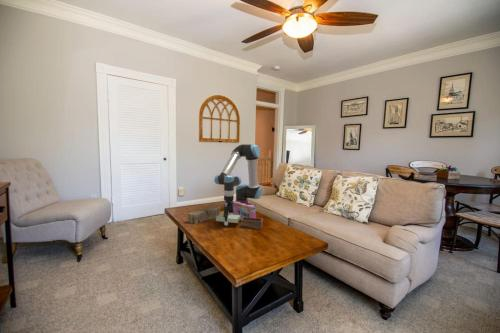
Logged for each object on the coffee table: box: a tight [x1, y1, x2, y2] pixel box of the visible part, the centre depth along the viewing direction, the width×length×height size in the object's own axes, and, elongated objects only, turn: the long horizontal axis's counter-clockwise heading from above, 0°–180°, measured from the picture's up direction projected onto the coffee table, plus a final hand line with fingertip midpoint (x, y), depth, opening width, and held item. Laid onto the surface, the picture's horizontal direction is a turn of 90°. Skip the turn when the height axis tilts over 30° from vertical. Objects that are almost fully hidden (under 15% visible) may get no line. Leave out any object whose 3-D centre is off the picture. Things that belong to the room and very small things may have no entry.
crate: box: [240, 217, 264, 230], centre depth 174 cm, size 7×16×6 cm, turn 77°
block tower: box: [187, 205, 221, 225], centre depth 191 cm, size 8×8×29 cm
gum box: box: [232, 200, 257, 221], centre depth 193 cm, size 24×8×14 cm, turn 46°
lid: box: [215, 213, 241, 224], centre depth 178 cm, size 10×17×4 cm, turn 77°
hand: (228, 222), depth 179 cm, fingers closed on lid, 10 cm apart
